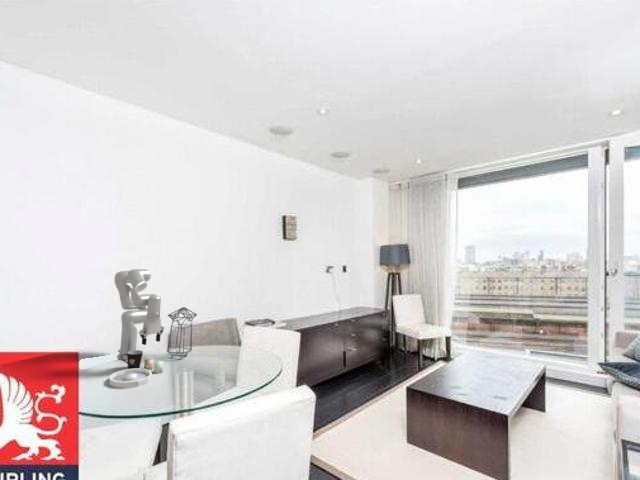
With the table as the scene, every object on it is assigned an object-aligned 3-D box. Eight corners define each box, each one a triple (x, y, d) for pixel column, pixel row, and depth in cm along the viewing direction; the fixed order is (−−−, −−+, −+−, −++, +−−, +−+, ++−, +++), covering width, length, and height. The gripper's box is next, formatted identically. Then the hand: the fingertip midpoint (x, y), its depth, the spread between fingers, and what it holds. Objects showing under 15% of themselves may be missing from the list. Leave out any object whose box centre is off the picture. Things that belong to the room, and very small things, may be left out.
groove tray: (101, 381, 191) (101, 376, 191) (136, 370, 209) (136, 365, 210) (124, 391, 181) (124, 385, 181) (158, 379, 200) (159, 373, 200)
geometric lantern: (162, 358, 233) (166, 307, 235) (176, 352, 249) (180, 304, 251) (182, 361, 230) (186, 309, 232) (195, 355, 245) (199, 306, 247)
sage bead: (151, 372, 209) (152, 362, 209) (158, 370, 213) (159, 360, 213) (157, 374, 207) (157, 364, 207) (164, 372, 211) (165, 362, 211)
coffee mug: (144, 367, 216) (146, 351, 216) (133, 371, 208) (134, 355, 208) (130, 364, 220) (132, 348, 220) (119, 368, 212) (120, 352, 212)
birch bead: (142, 369, 213) (143, 359, 213) (149, 366, 217) (150, 357, 218) (147, 370, 211) (148, 361, 211) (154, 368, 215) (155, 359, 215)
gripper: (161, 313, 224) (159, 339, 224) (136, 316, 209) (134, 344, 208) (168, 314, 221) (166, 341, 220) (144, 318, 205) (142, 346, 205)
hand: (151, 342), depth 214 cm, fingers open, 9 cm apart
